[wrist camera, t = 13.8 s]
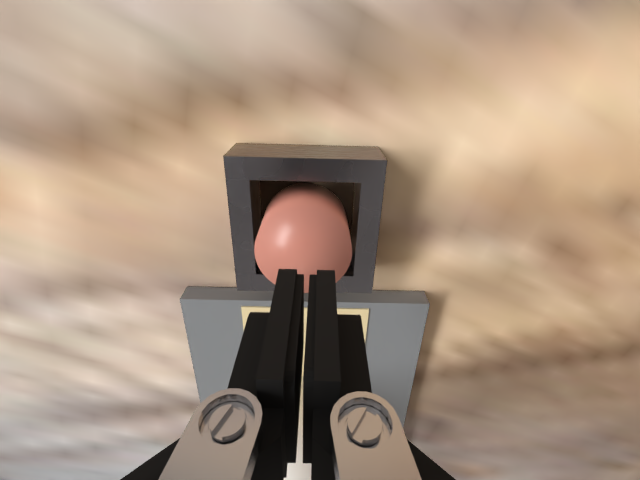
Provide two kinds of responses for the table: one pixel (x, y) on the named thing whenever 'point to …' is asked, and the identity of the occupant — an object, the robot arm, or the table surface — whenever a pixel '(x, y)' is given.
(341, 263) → the button
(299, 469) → the marker
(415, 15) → the table surface
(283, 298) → the robot arm
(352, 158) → the button housing
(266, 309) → the board
